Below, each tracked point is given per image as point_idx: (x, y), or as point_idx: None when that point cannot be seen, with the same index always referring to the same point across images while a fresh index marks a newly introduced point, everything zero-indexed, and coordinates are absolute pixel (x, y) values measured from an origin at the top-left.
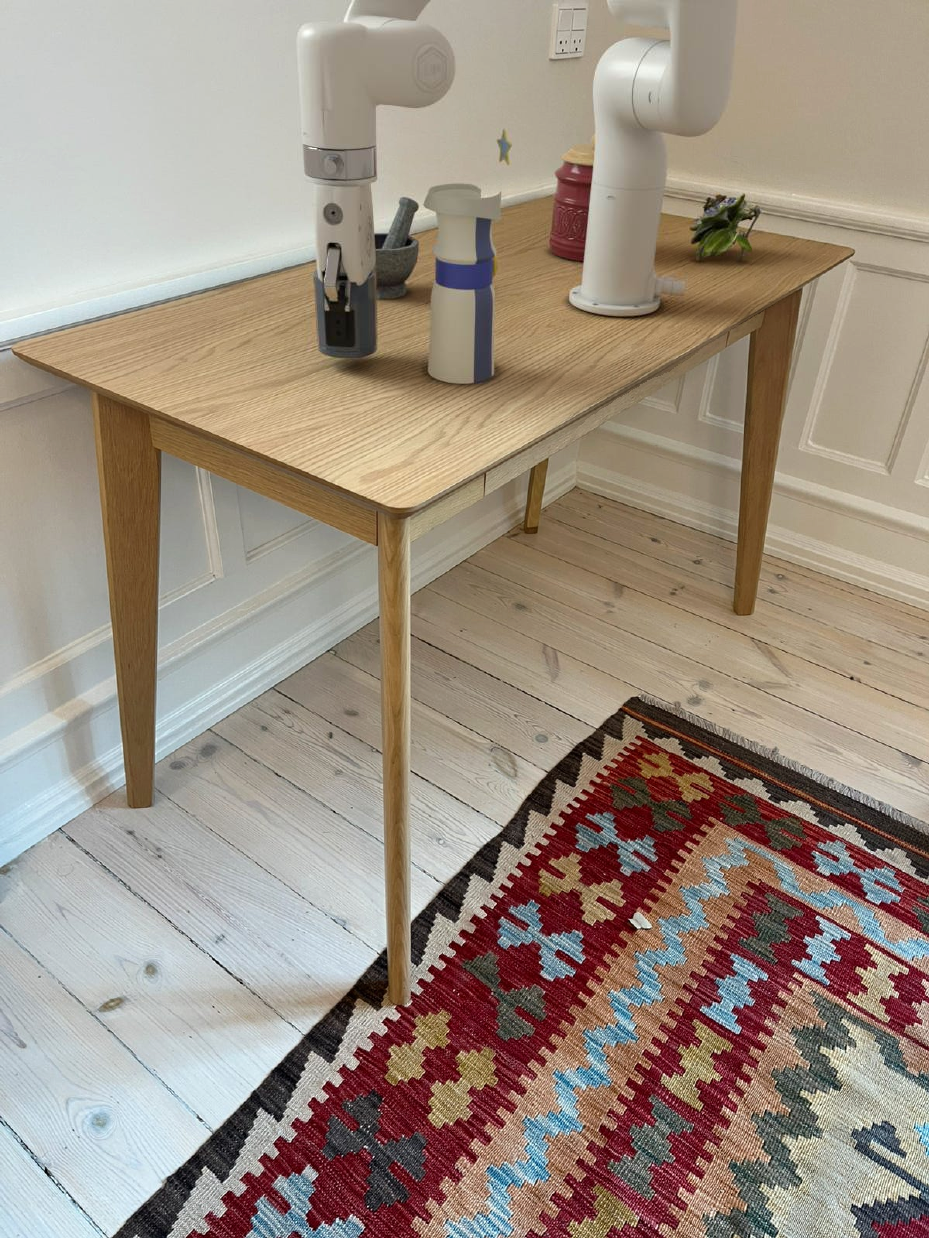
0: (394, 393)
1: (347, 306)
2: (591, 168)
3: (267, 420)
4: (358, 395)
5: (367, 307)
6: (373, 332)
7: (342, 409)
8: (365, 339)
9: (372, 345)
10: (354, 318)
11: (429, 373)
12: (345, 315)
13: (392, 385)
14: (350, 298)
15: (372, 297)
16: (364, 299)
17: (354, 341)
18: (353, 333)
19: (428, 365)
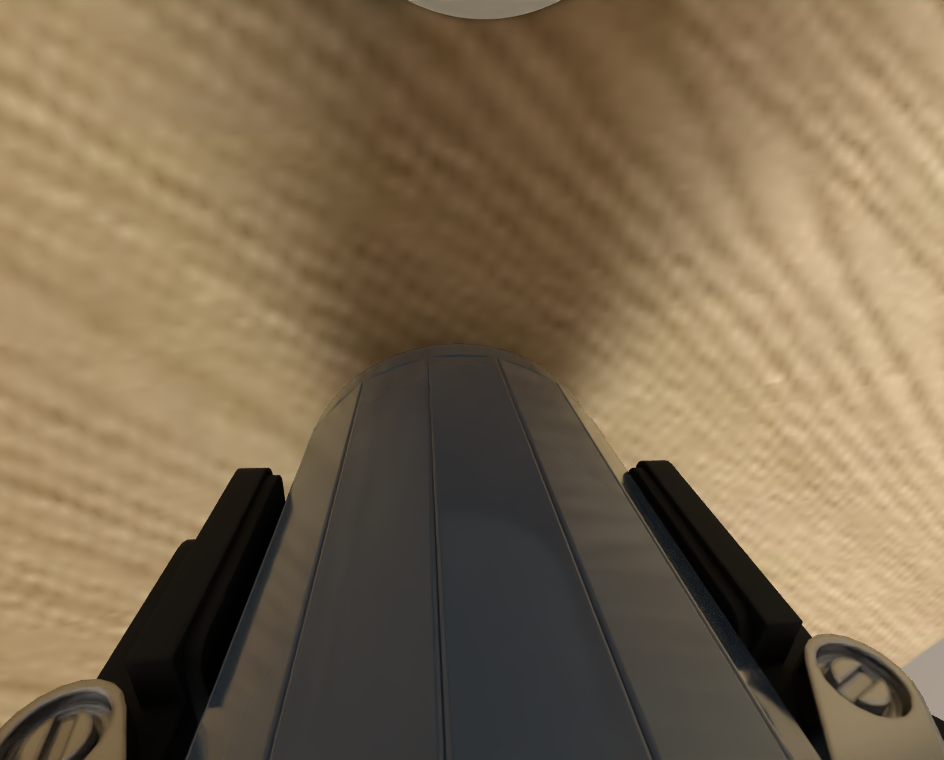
0: (786, 190)
1: (909, 701)
2: None
3: (919, 554)
4: (783, 341)
5: (662, 551)
6: (532, 400)
7: (900, 374)
8: (588, 424)
9: (530, 373)
10: (735, 570)
11: (554, 1)
12: (801, 640)
13: (691, 211)
14: (900, 754)
15: (623, 585)
16: (729, 636)
17: (678, 473)
18: (701, 506)
19: (523, 1)
